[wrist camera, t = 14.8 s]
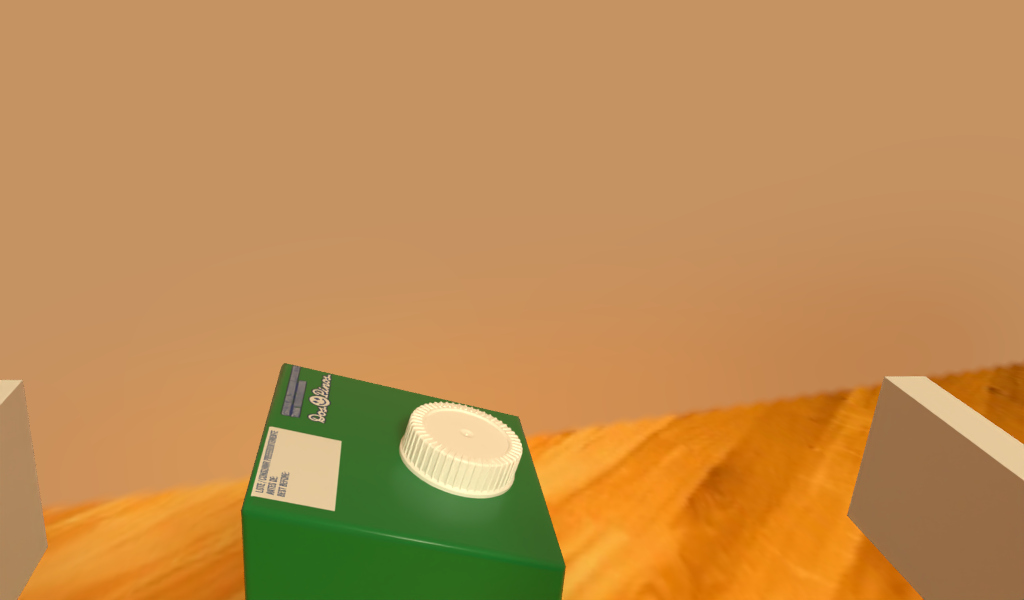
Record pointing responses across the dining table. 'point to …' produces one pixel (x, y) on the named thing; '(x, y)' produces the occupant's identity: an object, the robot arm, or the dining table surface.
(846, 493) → the dining table surface
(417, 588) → the milk carton
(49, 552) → the dining table surface
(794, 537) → the dining table surface
